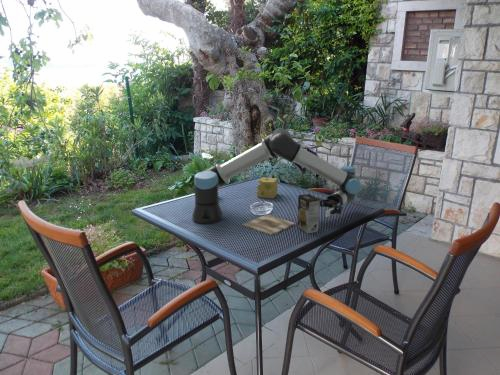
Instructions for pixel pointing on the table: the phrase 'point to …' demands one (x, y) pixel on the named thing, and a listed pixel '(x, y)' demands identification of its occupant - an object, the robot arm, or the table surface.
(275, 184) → the cheese
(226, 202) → the table surface
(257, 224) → the board
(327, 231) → the table surface
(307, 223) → the coffee box
